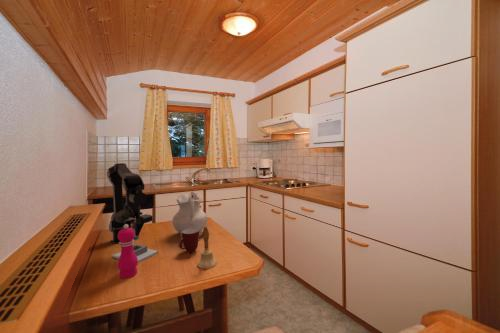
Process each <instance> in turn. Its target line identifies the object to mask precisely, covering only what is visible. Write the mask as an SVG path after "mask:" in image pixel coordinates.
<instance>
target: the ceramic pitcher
mask: <svg viewBox="0 0 500 333" xmlns="http://www.w3.org/2000/svg"><path fill="white" fill-rule="evenodd" d="M176 202H177V204H178V207H179V210H178V211H177V212H176V213H175V215H173V217H172V225H173V228H174V230H175V231H177V233H179V234H180V238H182V231H183V230H185V229H190V228H196V229H198V230H199V237H200V236H202V232H201V231H203V230H204V227H207V226H206V225H207V223H208V217H207V216H208V215H207V214H208V213H206V212H205V211H203V210H202V209H201V206H200V204H201V202H202V197H201V195H200V196H199V194H198V192H196V191H191V192H190V194H186V193H183V192H182V193H180V194H179V196H178V197H177V198H176Z"/></svg>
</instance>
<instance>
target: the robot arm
mask: <svg viewBox="0 0 500 333" xmlns="http://www.w3.org/2000/svg"><path fill="white" fill-rule="evenodd" d="M106 176H107V179H108V181H109V183H110V184H111V185H112V199H113V200H112V201H113V213H112V214H111V216H110V221H109V225H108V231H110V232H111V233H112V239H111V240H110V242H112V243H114V244H120V243H119V242H120V240H119V239H118V233H119V231H120V230H122V229H124V228H123V226H124V225H125V224H127V225H128V226H129V227H128V228H131V226H130V223H131V222H133V221H135V222H134V223H132V224H133V225H134V227H135V234H136V236H138V235H140V233H141V231H142V228H143V227H144V225H145V224H147V223H150V222H153V218H154V217H153V216H152V214H149V213H147V214H146V213H145V214H143V212H142V211H141V207H143V206H144V205H145V204H146V203H147V201H148V196H147V194H146V193H145V192H143V190H145V187H146V186H145V183H144V180H143V179H142V177H141V175H139V174H137V173H135V172H134V173H133V172H132V171H131V169H129V167H128V166H127V164H126V163H123V162H121V163H118V162H117V163H115V164H113V166H110V167H109V168H108V169H107V171H106ZM123 191H125V204H124V196H123V195H124V194H123Z"/></svg>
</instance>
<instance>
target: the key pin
mask: <svg viewBox="0 0 500 333" xmlns="http://www.w3.org/2000/svg"><path fill="white" fill-rule="evenodd" d="M134 222H135V221H133V222H131V223H130V226H131V229H133V230H134V232H135V227H134V225H133V224H132V223H134ZM139 235H140V234H139ZM139 235H138V236H136V234H135V236H134V238H133V239H134V241H137V240H140V236H139Z"/></svg>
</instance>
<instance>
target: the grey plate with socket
mask: <svg viewBox="0 0 500 333" xmlns="http://www.w3.org/2000/svg"><path fill="white" fill-rule="evenodd" d="M133 250H134V253H135V255H136V256H137V259H138V264H139V263H141V262H143V261H145V260H148V259H149V258H151V257H153V256H155V255H157V254H159V251H158V250H155V249H151V248H148V246H147V245H142V244H139V243H136V244H133ZM120 255H121V251H119V252H117V253H114V254H112V258H114V259H117V260H119V258H120Z"/></svg>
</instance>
